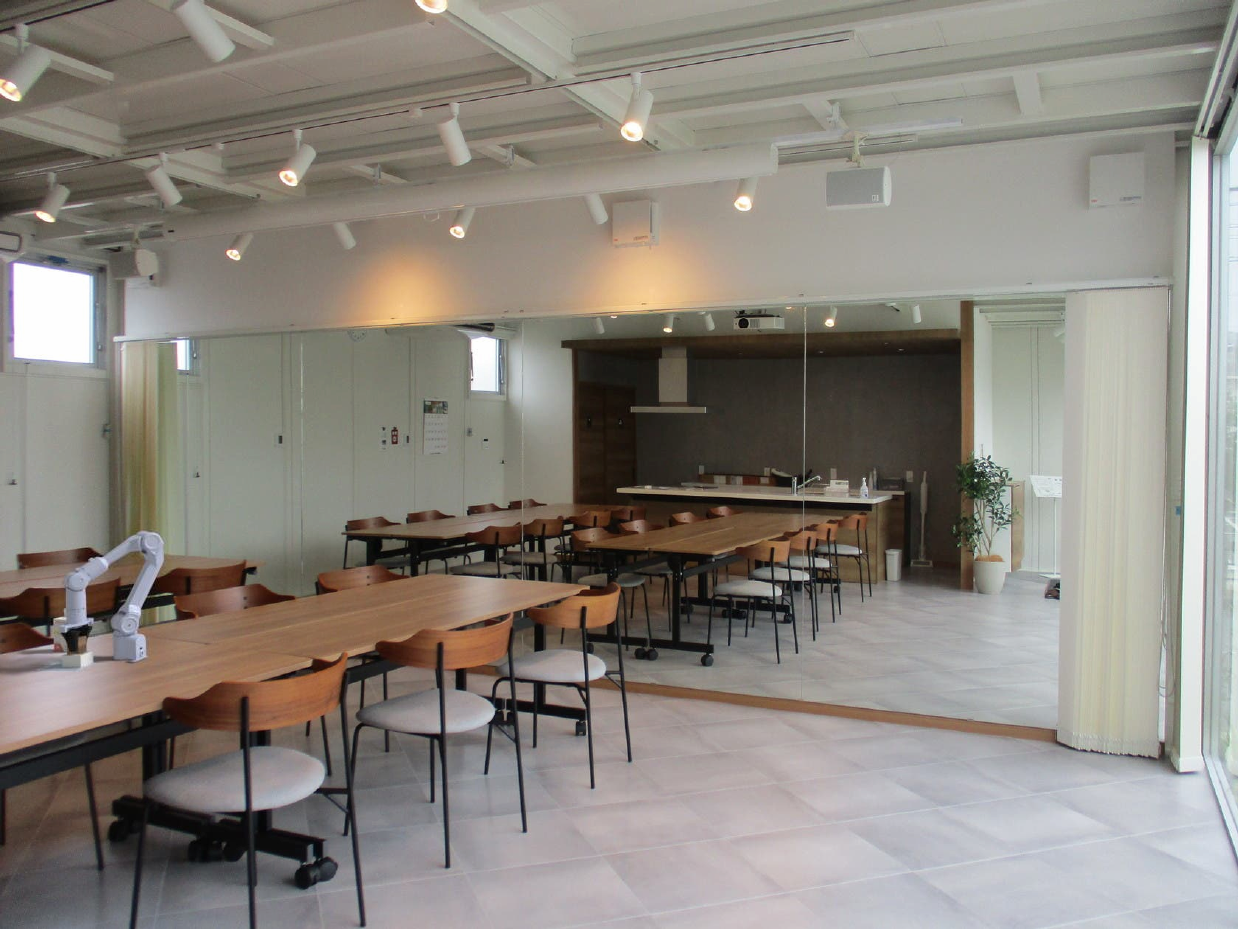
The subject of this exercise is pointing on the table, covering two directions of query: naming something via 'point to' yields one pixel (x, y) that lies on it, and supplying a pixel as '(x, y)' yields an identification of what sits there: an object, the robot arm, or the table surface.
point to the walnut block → (80, 646)
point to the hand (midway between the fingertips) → (77, 650)
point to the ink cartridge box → (59, 634)
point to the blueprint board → (59, 667)
